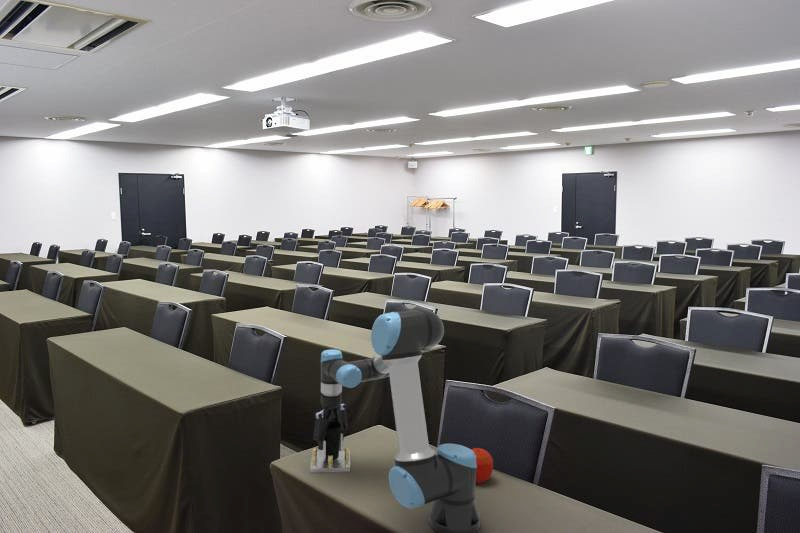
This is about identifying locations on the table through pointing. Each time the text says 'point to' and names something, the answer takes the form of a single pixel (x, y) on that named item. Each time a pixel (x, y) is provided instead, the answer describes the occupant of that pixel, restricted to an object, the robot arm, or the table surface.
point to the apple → (483, 465)
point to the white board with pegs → (330, 462)
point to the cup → (333, 440)
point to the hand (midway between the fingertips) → (330, 453)
